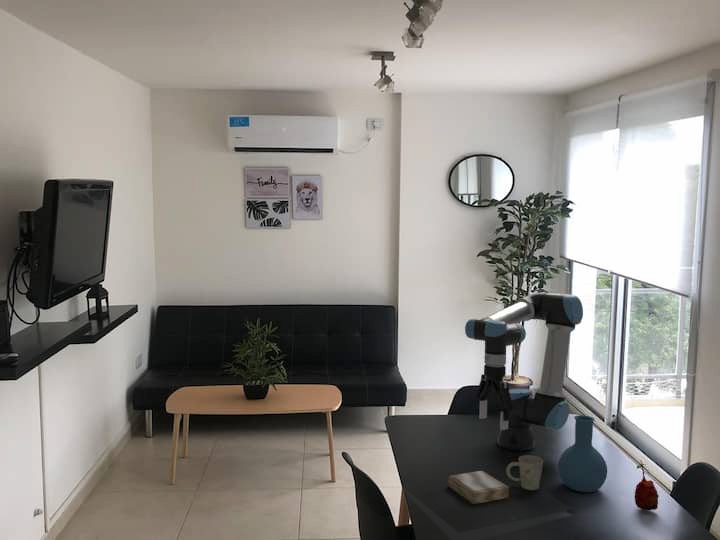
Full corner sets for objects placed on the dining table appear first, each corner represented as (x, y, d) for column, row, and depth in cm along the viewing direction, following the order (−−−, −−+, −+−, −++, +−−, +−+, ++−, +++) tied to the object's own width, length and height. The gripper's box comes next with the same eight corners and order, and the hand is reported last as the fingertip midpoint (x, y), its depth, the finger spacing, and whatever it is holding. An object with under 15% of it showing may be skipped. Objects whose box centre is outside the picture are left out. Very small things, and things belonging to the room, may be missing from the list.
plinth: (481, 480, 236) (482, 469, 236) (508, 497, 221) (508, 486, 221) (448, 486, 230) (448, 475, 230) (473, 504, 216) (473, 492, 215)
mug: (543, 492, 226) (544, 464, 225) (506, 489, 228) (506, 461, 228) (541, 483, 234) (542, 456, 233) (505, 480, 236) (506, 453, 236)
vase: (582, 500, 220) (585, 427, 218) (547, 482, 235) (549, 414, 233) (617, 491, 228) (619, 421, 226) (580, 474, 242) (583, 409, 241)
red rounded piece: (645, 513, 211) (647, 468, 209) (628, 504, 217) (630, 460, 216) (662, 509, 214) (664, 465, 213) (645, 501, 220) (647, 457, 219)
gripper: (467, 358, 241) (466, 414, 242) (505, 373, 218) (504, 435, 219) (485, 357, 244) (483, 412, 245) (524, 371, 220) (522, 433, 222)
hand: (493, 423), depth 232 cm, fingers open, 13 cm apart
